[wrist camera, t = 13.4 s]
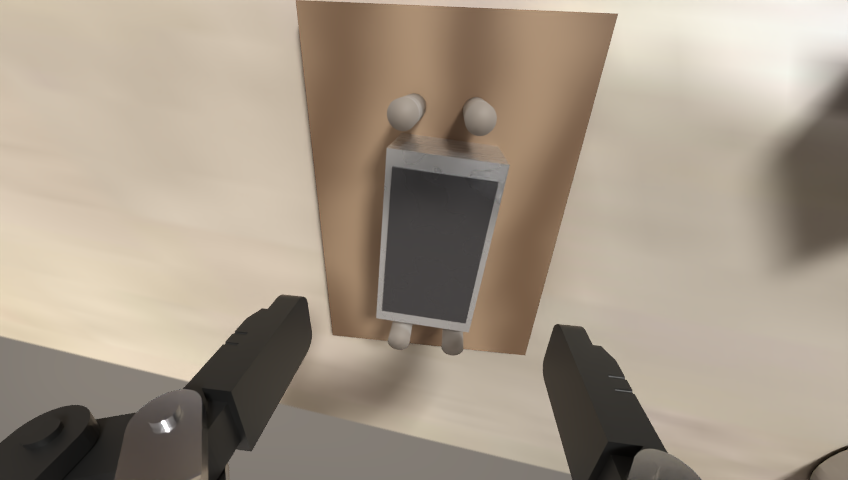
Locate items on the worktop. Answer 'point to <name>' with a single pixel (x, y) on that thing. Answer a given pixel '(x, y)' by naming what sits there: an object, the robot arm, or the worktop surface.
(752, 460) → the worktop surface
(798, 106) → the worktop surface
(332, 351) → the worktop surface
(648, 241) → the worktop surface
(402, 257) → the block
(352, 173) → the pin tray
